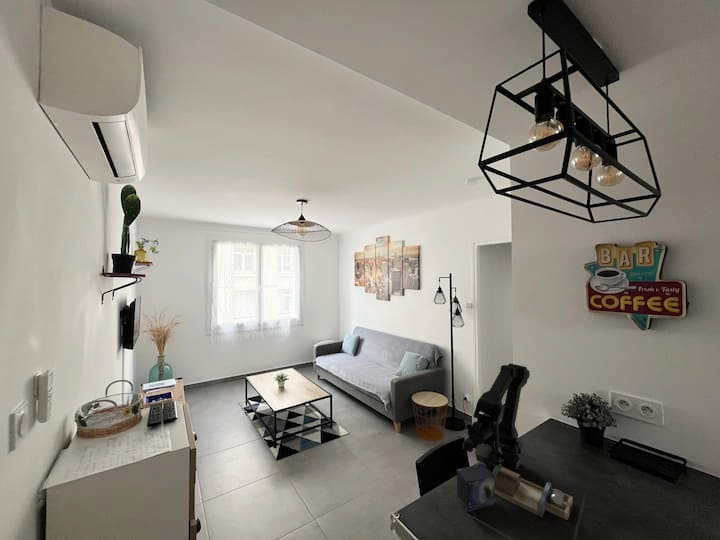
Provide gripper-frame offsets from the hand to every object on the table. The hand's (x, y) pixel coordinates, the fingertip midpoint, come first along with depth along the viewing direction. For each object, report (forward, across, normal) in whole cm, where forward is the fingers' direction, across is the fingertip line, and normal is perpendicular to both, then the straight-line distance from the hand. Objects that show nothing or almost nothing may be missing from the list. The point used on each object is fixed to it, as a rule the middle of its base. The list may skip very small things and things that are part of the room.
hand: (490, 475), depth 107 cm
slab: (+1, +6, 0) cm, 6 cm away
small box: (+2, 0, -14) cm, 14 cm away
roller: (-1, +20, +2) cm, 20 cm away
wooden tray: (+2, +13, 0) cm, 13 cm away
